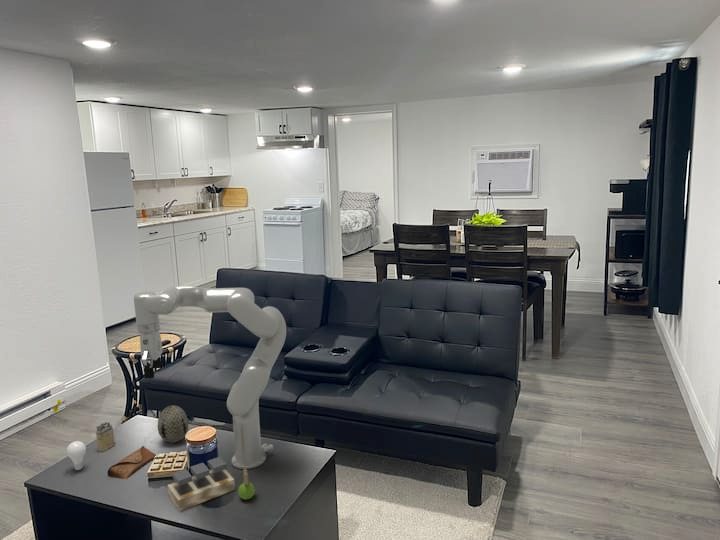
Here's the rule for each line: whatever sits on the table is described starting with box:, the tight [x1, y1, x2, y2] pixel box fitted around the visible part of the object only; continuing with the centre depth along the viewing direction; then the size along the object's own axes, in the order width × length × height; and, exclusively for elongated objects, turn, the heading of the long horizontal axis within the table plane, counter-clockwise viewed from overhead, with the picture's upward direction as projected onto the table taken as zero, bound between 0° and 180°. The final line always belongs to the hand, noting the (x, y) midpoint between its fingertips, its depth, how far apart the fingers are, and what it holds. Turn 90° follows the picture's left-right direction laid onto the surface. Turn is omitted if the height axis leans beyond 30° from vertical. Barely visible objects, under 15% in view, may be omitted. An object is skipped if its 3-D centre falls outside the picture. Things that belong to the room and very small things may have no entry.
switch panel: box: [167, 469, 236, 512], centre depth 188 cm, size 19×11×4 cm, turn 126°
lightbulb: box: [66, 440, 87, 471], centre depth 204 cm, size 6×6×11 cm
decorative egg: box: [157, 404, 189, 443], centre depth 223 cm, size 12×12×15 cm
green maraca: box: [237, 468, 256, 500], centre depth 183 cm, size 5×6×12 cm
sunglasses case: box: [107, 445, 157, 480], centre depth 207 cm, size 18×7×7 cm, turn 159°
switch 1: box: [172, 468, 193, 486], centre depth 184 cm, size 4×6×3 cm
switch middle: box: [190, 462, 211, 479], centre depth 187 cm, size 4×6×3 cm
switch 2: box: [206, 456, 228, 473], centre depth 191 cm, size 4×6×3 cm
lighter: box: [95, 421, 116, 452], centre depth 220 cm, size 7×4×10 cm, turn 156°
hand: (153, 372), depth 200 cm, fingers open, 9 cm apart
